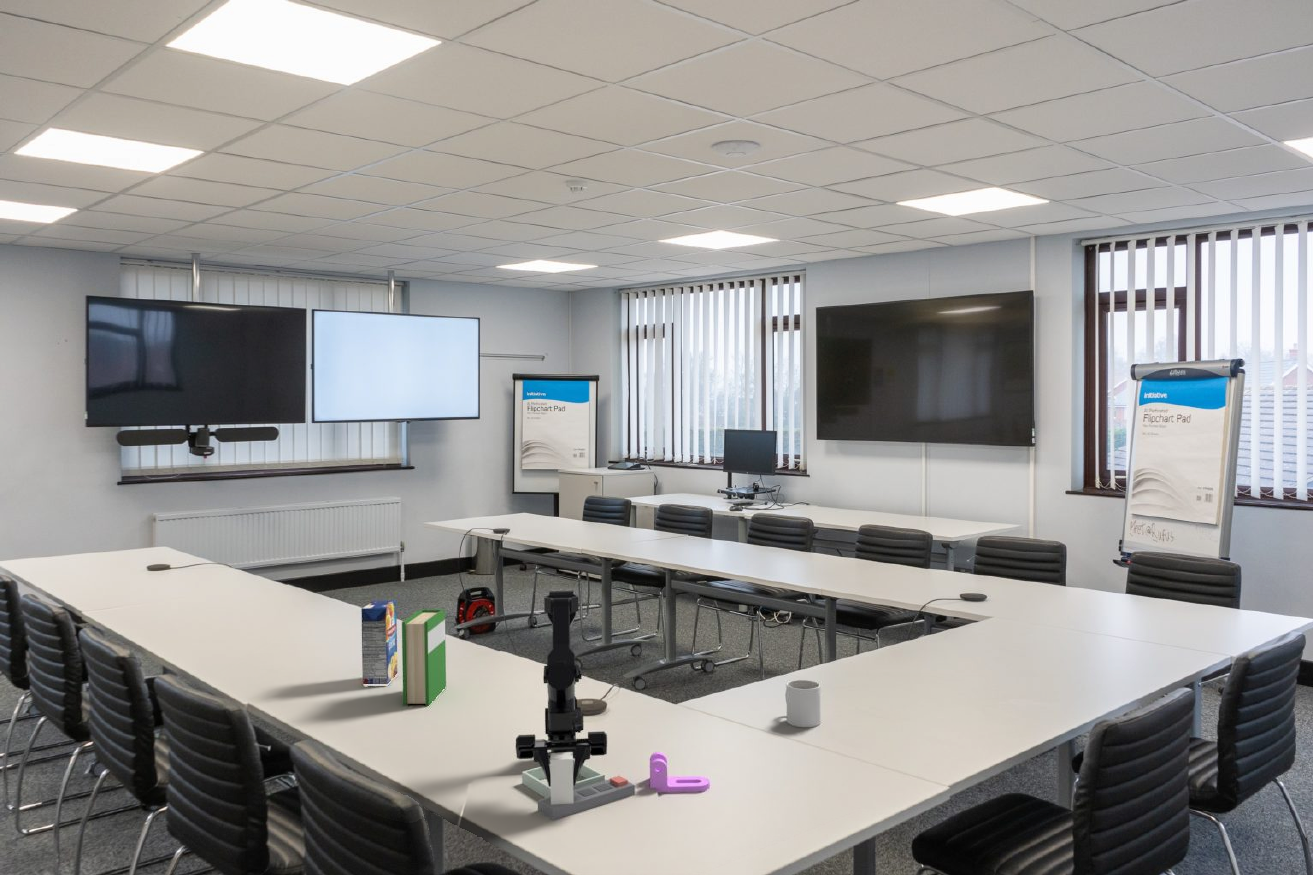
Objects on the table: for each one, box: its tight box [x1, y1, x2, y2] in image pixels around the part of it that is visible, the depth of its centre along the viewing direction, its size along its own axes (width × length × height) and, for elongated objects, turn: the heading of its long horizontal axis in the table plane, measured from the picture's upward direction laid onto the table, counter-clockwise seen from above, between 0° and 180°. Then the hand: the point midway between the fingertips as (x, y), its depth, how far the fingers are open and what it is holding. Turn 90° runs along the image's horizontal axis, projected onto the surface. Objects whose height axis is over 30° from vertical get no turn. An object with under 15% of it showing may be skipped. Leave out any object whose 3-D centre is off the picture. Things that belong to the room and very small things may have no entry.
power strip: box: [537, 775, 636, 821], centre depth 190 cm, size 20×6×4 cm, turn 127°
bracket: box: [649, 751, 711, 794], centre depth 200 cm, size 13×6×7 cm, turn 90°
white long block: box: [549, 752, 573, 805], centre depth 187 cm, size 4×4×11 cm
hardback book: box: [401, 608, 447, 707], centre depth 269 cm, size 18×7×24 cm, turn 177°
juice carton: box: [360, 600, 398, 685], centre depth 286 cm, size 12×8×24 cm, turn 1°
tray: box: [521, 758, 606, 798], centre depth 200 cm, size 13×13×4 cm
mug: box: [784, 679, 822, 728], centre depth 243 cm, size 11×10×10 cm
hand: (561, 785), depth 185 cm, fingers closed on white long block, 4 cm apart
